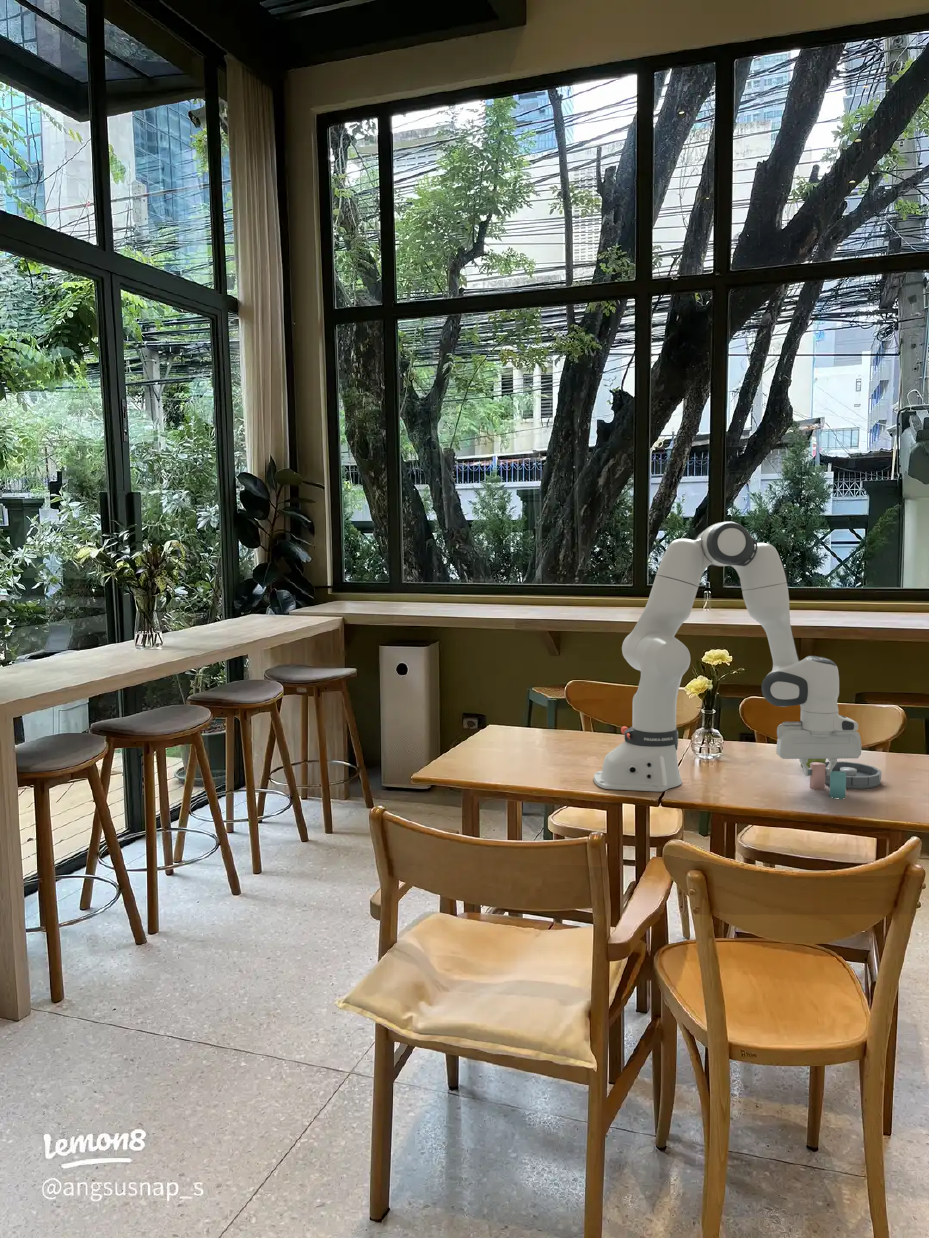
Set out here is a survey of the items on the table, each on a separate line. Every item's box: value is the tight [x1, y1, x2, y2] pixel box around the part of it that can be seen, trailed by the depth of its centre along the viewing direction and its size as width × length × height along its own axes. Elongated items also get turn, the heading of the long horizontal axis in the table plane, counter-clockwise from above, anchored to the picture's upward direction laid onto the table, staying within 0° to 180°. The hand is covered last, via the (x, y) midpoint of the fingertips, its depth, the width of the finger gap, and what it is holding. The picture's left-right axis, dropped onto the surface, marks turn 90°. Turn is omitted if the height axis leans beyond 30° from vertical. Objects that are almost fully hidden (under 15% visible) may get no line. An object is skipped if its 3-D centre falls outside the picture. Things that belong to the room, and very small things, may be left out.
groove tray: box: [824, 761, 882, 790], centre depth 235 cm, size 15×15×3 cm
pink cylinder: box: [809, 762, 826, 791], centre depth 229 cm, size 4×4×6 cm
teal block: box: [829, 771, 847, 800], centre depth 221 cm, size 4×4×6 cm
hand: (817, 775), depth 229 cm, fingers closed on pink cylinder, 4 cm apart
